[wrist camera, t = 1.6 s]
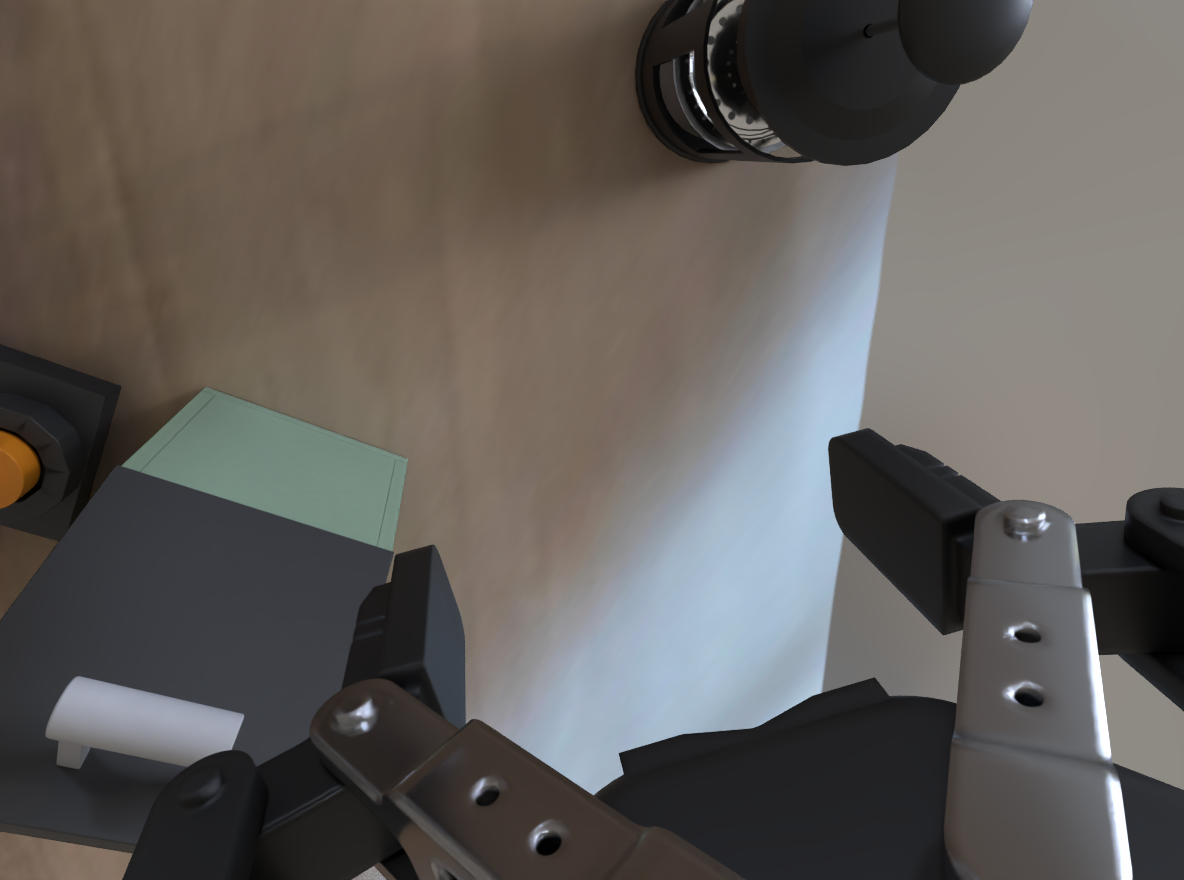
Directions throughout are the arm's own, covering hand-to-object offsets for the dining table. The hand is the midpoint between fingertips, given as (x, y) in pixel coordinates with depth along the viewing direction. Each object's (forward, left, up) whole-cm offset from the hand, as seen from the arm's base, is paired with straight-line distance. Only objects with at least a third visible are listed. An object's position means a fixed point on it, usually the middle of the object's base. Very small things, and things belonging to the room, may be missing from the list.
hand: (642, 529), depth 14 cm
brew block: (-22, -21, -32) cm, 44 cm away
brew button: (-22, -21, -29) cm, 42 cm away
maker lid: (-8, -17, -13) cm, 23 cm away
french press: (+5, +15, -32) cm, 36 cm away
